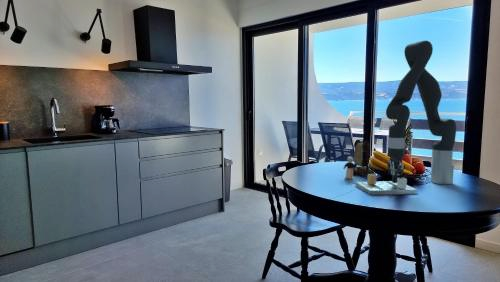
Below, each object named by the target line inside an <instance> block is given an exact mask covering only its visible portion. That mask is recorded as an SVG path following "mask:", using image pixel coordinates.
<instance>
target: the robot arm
mask: <svg viewBox="0 0 500 282" xmlns="http://www.w3.org/2000/svg"><path fill="white" fill-rule="evenodd" d="M433 49H434V48H433V44H432V43H431V41H429V40H421V41H416V42H411V43H409V44H407V45H405V48H404V58H405V60H406V62H407V64H408V67H409V70H408V72H407V73H406V74H405V75H404V77H402V78H401V80H400V82H399V85H398V87H397V89H396V92H395V95H394V96H393V98H392V99H391V101H390V102H389V103H388V105H387V107H386V110H385V116H386V118H387V119H389V120H393V121H394V120H395V121H396V122H395V124H391V125H390V126H388V127H389V128H388V140H387V154H386V155H387V157H388V158H389V161H386V165H387V168H388V171H389V173H390V174H391V181H392V182H393V183H397V178H399V176H401V175H402V174H403V173H404V170H405V168H406V165H403V159H404V158H405V156H406V155H405V151H406V129H407V125H408V122H409V119H410V115H411V111H410V110H411V109H410V108H409V106H408V105H406V103H408V102H410V101H411V100H412V96H413V94H414V92H415V91H414V90H415V89H416V86H417V90H418V93H419V97H420V99H421V101H422V105H423V107H424V108H423V109H424V111H425V114H426V118H427V119H426V120H427V124H428V128H429V131H430V134H431V135H433V137H434V136H435V137H440V138H441V140H440V141H438V142H434V143H433V144H432V147H431V149H432V151H431V166H430V167H431V168H430V182H431V183H432V184H439V185H451V184H453V183H454V182H453V181H454V169H455V167H454V166H455V165H454V164H453V155H454V154H453V151H454V146H455V143H456V136H457V124H456V121H455V120H454V119H452V118H441V117H440V114H439V110H438V109H439V106H440V103H441V99H442V95H443V94H442V90H441V87H440V84H439V81H438V80H437V79H436V78H435V77H434V75H432V74H431V73H430V72H429V71H428V70H427V69H426V67H427V64H429V62H430V59H431V57H432V55H433Z"/></svg>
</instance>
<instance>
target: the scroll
mask: <svg viewBox="0 0 500 282" xmlns="http://www.w3.org/2000/svg"><path fill="white" fill-rule="evenodd" d="M353 144H354V145H353V146H354V152H353V153H354V157H353V159H354V160H353V162H354V163H353V164H355V165H356V166H357V170H355V168H353V174H356V175H359V176H360V177H362V176H363V175H368V174H375V173H374V172H373V171H372V170H370V169H369V168H370V166H369V167H368V163H369V159H370V158H369V157H370V156H371V153H370V149H371V143H370V141H368V140H364V141H363V142H362V140H360V139H357V140H356V141H355V142H354V143H353ZM363 155H364V156H365V157H363ZM369 164H370V163H369Z"/></svg>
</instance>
